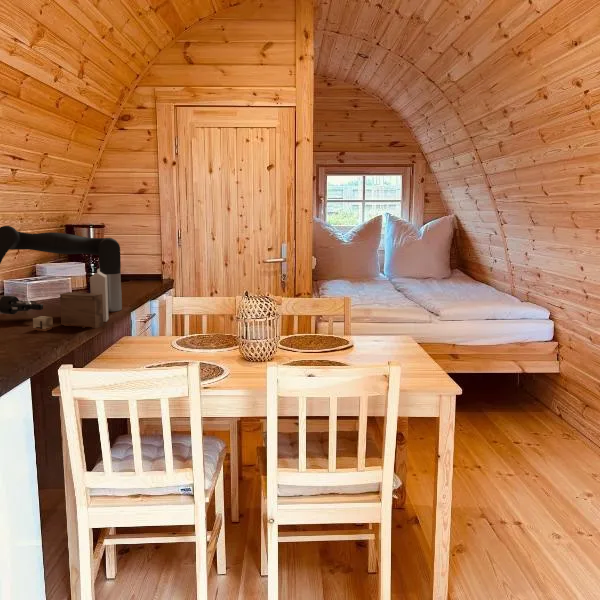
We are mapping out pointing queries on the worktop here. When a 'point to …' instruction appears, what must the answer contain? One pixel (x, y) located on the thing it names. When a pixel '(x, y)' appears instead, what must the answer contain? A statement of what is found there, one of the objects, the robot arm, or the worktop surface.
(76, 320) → the walnut panel
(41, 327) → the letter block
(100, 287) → the milk
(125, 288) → the worktop surface
